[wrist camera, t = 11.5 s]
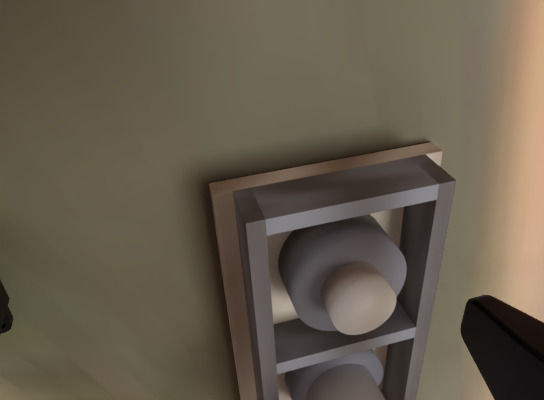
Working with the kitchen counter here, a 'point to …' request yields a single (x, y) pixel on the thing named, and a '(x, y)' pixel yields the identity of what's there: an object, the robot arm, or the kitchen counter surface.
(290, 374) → the white bulb
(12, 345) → the kitchen counter surface
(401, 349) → the grey compartment tray
